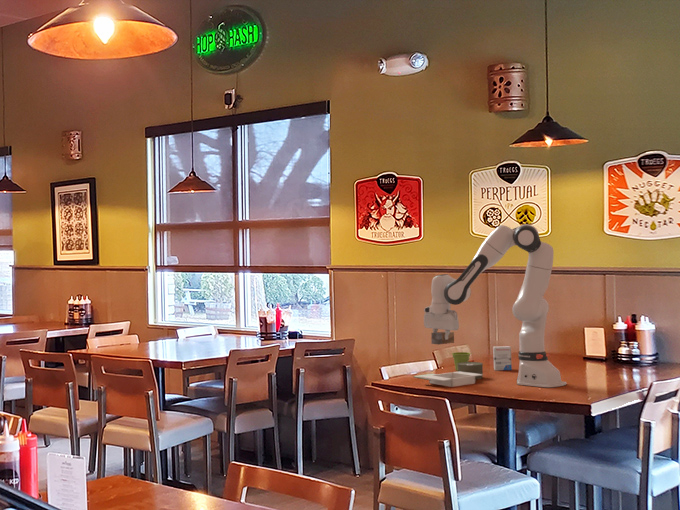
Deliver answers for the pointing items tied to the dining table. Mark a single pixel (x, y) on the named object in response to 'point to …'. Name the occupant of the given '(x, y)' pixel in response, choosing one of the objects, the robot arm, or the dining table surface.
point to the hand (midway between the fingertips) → (441, 338)
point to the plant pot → (460, 358)
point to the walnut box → (438, 338)
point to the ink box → (502, 358)
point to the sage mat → (423, 375)
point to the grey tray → (452, 378)
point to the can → (471, 368)
